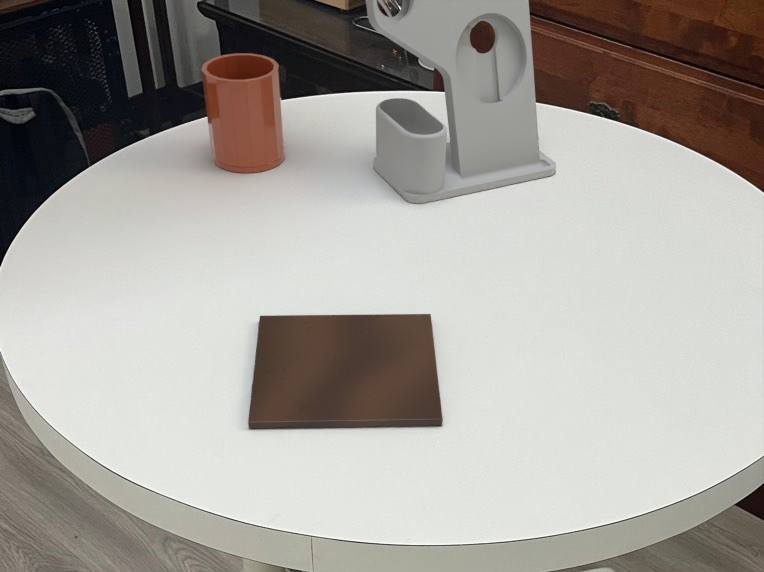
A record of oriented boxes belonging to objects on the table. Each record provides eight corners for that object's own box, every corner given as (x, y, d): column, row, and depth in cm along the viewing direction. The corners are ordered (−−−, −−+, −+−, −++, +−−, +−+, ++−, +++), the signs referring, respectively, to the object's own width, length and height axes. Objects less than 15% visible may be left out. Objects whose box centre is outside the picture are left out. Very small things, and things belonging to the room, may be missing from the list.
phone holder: (408, 206, 96) (411, 3, 83) (364, 164, 102) (362, -30, 90) (560, 173, 102) (585, -21, 89) (510, 135, 108) (527, -51, 95)
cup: (209, 173, 100) (198, 81, 94) (216, 142, 106) (205, 53, 99) (283, 172, 101) (276, 81, 94) (286, 142, 106) (280, 53, 100)
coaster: (248, 428, 72) (247, 422, 71) (260, 321, 81) (259, 315, 81) (442, 426, 72) (442, 419, 72) (430, 319, 82) (430, 313, 82)
